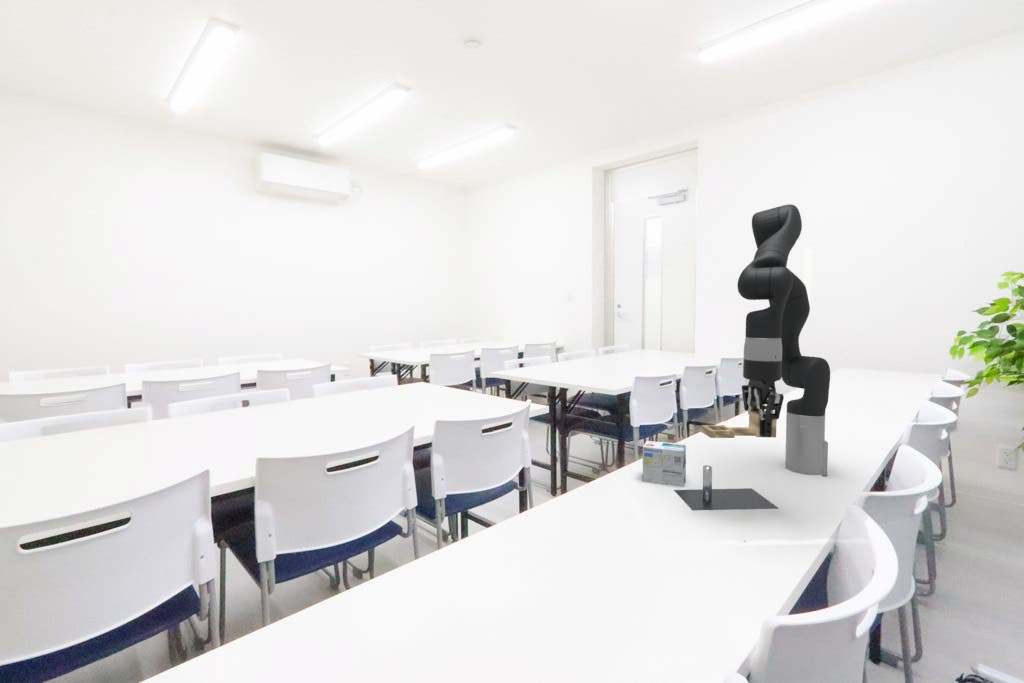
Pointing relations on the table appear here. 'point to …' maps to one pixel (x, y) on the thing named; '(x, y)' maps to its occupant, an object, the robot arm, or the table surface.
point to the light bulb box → (664, 463)
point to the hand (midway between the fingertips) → (760, 433)
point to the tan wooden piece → (738, 428)
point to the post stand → (722, 497)
